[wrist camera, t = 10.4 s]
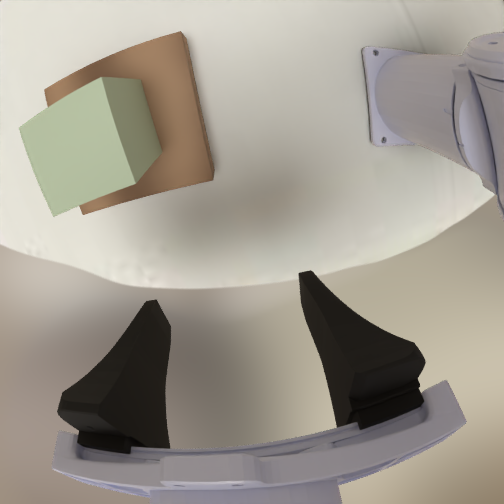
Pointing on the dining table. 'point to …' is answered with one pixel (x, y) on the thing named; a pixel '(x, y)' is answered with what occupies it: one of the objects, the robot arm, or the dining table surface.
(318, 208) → the dining table surface
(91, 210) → the walnut pad
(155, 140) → the sage block
